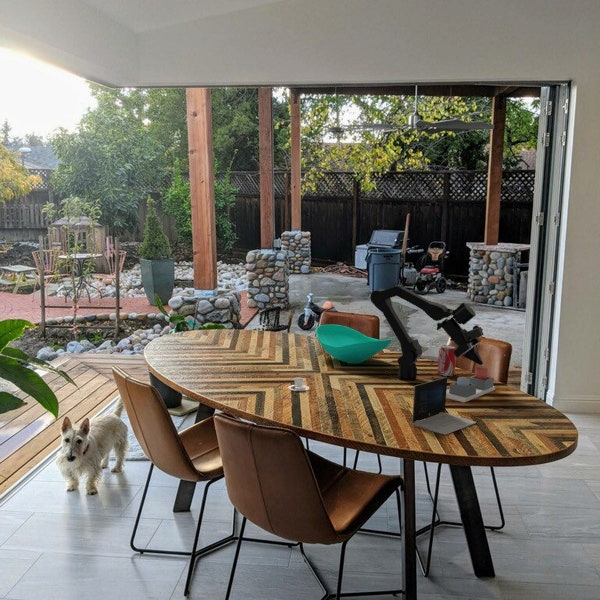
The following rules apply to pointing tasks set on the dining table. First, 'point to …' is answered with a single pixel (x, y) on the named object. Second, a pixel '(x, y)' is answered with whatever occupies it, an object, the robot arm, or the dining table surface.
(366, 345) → the table top decor
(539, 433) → the dining table surface
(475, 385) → the button panel
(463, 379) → the slate button
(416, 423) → the laptop
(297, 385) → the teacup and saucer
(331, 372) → the dining table surface
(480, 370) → the red button
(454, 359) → the soda can
